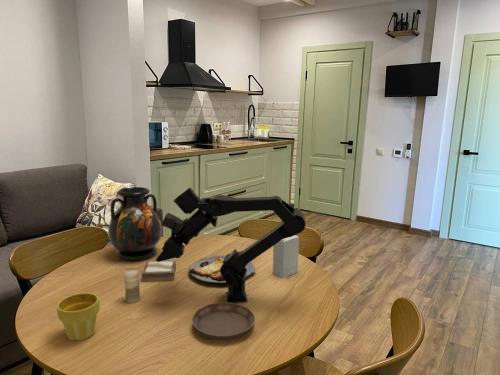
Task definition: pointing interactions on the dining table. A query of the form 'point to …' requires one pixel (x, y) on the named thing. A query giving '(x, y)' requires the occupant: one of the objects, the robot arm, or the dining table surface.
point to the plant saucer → (223, 321)
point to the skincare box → (286, 256)
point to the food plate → (213, 269)
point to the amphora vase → (134, 225)
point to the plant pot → (79, 314)
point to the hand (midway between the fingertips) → (159, 255)
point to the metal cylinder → (132, 285)
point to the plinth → (159, 271)
